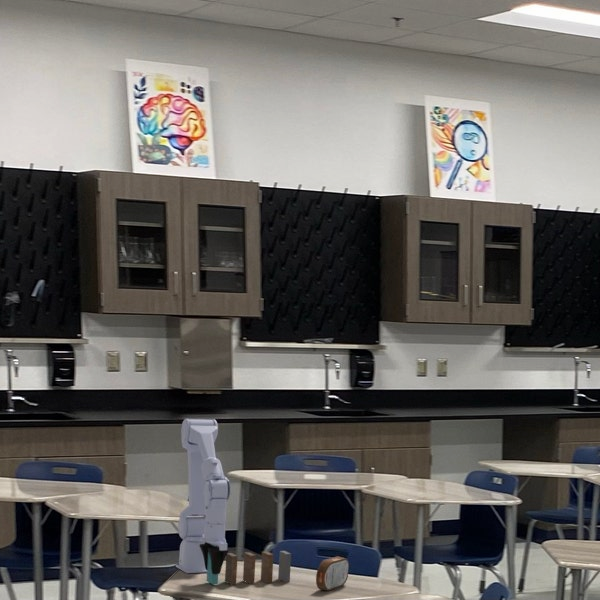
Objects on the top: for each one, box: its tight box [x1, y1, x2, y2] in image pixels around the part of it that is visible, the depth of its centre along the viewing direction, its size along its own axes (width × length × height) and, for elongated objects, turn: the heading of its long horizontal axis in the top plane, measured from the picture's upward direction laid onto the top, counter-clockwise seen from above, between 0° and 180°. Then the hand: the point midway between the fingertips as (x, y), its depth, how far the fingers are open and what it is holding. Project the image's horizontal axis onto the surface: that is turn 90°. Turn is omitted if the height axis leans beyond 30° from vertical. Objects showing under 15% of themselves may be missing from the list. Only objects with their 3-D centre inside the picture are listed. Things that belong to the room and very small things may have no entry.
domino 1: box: [224, 552, 239, 585], centre depth 326 cm, size 2×4×8 cm, turn 25°
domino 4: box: [277, 550, 292, 583], centre depth 333 cm, size 2×4×8 cm, turn 25°
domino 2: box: [242, 551, 257, 585], centre depth 328 cm, size 2×4×8 cm, turn 25°
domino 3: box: [260, 551, 274, 584], centre depth 331 cm, size 2×4×8 cm, turn 25°
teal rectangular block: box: [206, 552, 219, 585], centre depth 323 cm, size 2×4×8 cm, turn 25°
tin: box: [315, 555, 350, 592], centre depth 326 cm, size 15×3×8 cm, turn 149°
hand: (212, 571), depth 323 cm, fingers closed on teal rectangular block, 4 cm apart
